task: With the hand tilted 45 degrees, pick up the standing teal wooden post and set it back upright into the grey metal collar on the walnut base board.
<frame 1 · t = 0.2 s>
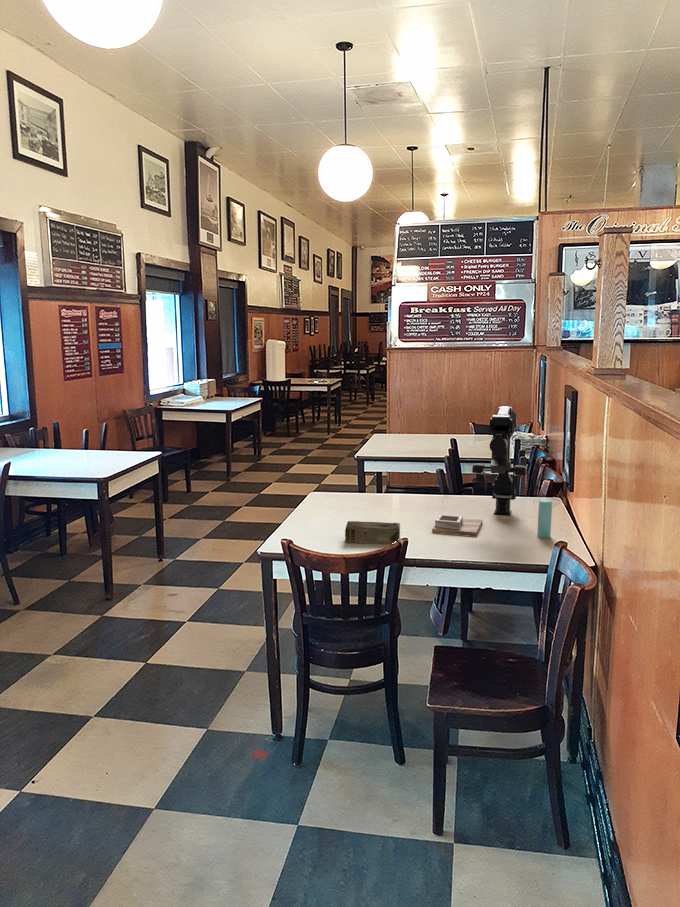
hand: (498, 492, 253), 15 cm above the table, tool pointing down, fingers open, 9 cm apart
post: (543, 536, 250), on the table
base board: (457, 528, 261), on the table
beverage carton: (372, 542, 246), on the table
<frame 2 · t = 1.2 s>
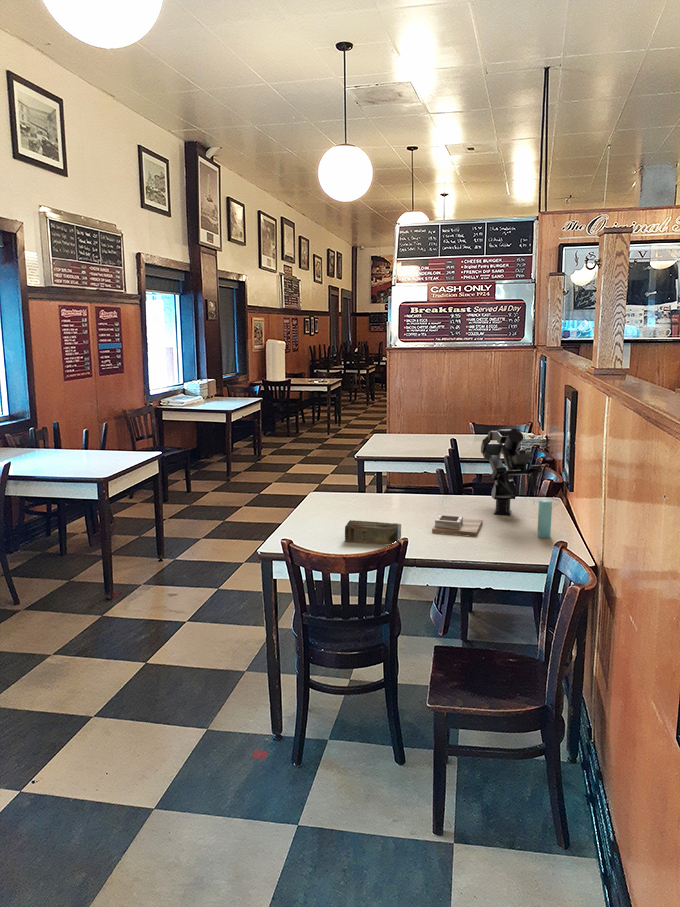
hand: (523, 491, 261), 13 cm above the table, tool tilted 45°, fingers open, 9 cm apart
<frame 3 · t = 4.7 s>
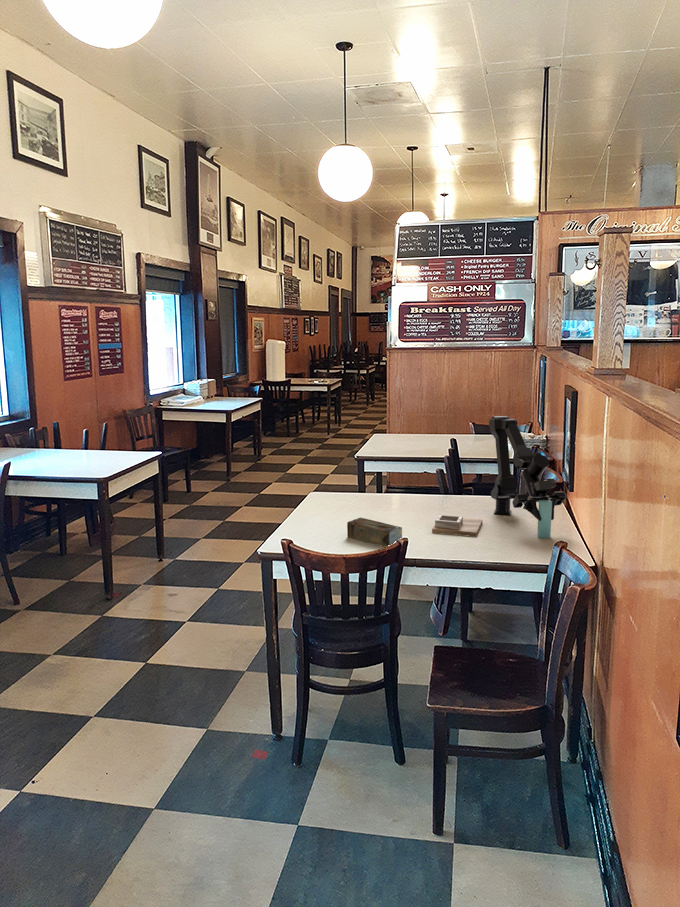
hand: (546, 519, 247), 7 cm above the table, tool tilted 45°, fingers closed on post, 4 cm apart
post: (543, 536, 250), on the table, touching gripper
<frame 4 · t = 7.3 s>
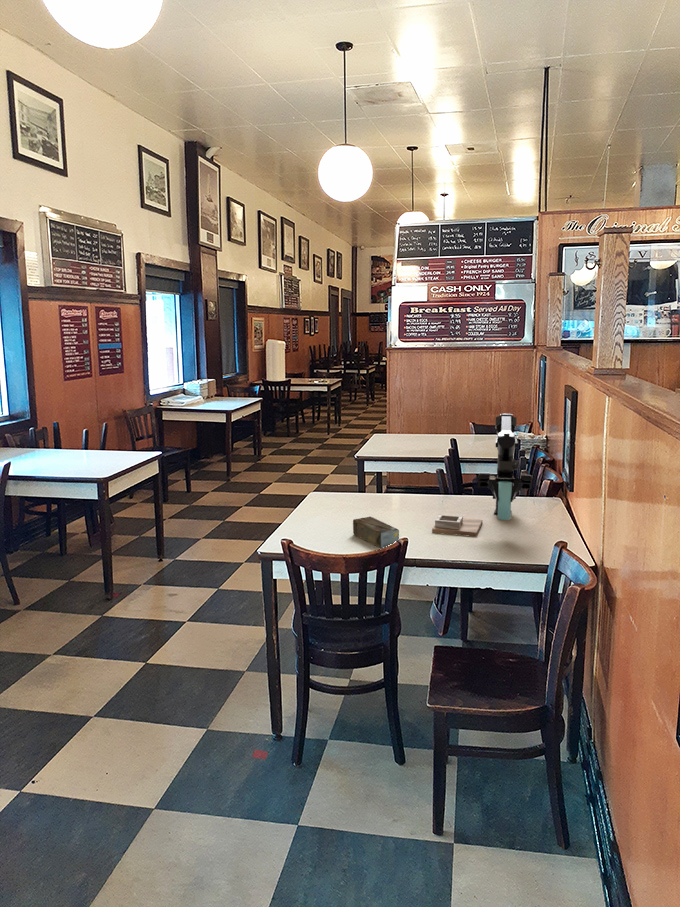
hand: (504, 501, 246), 13 cm above the table, tool tilted 45°, fingers closed on post, 4 cm apart
post: (504, 518, 249), point 7 cm above the table, touching gripper
when the fingers open (9 cm above the table, at t = 10.1 s): post drops 1 cm, resting on base board.
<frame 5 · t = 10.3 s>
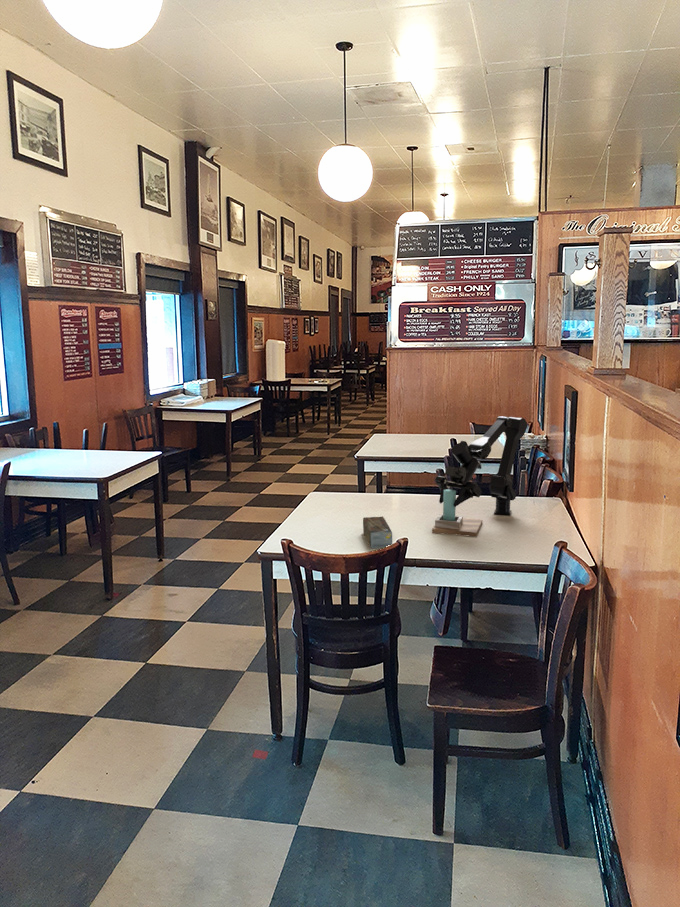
hand: (447, 504, 257), 10 cm above the table, tool tilted 45°, fingers open, 6 cm apart
post: (448, 524, 260), point 2 cm above the table, touching base board
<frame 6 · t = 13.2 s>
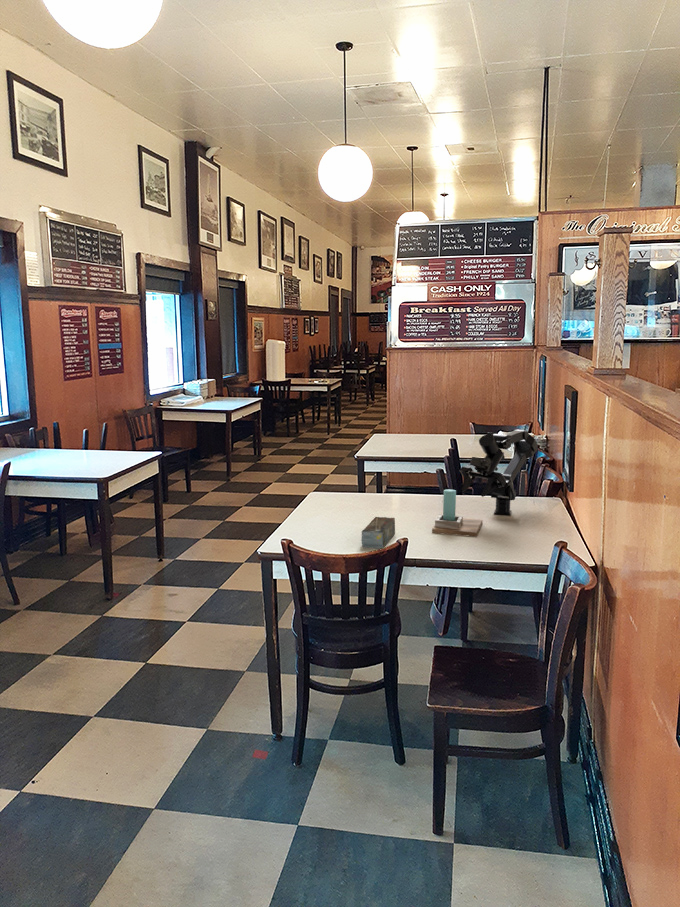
hand: (472, 494, 265), 12 cm above the table, tool tilted 45°, fingers open, 9 cm apart
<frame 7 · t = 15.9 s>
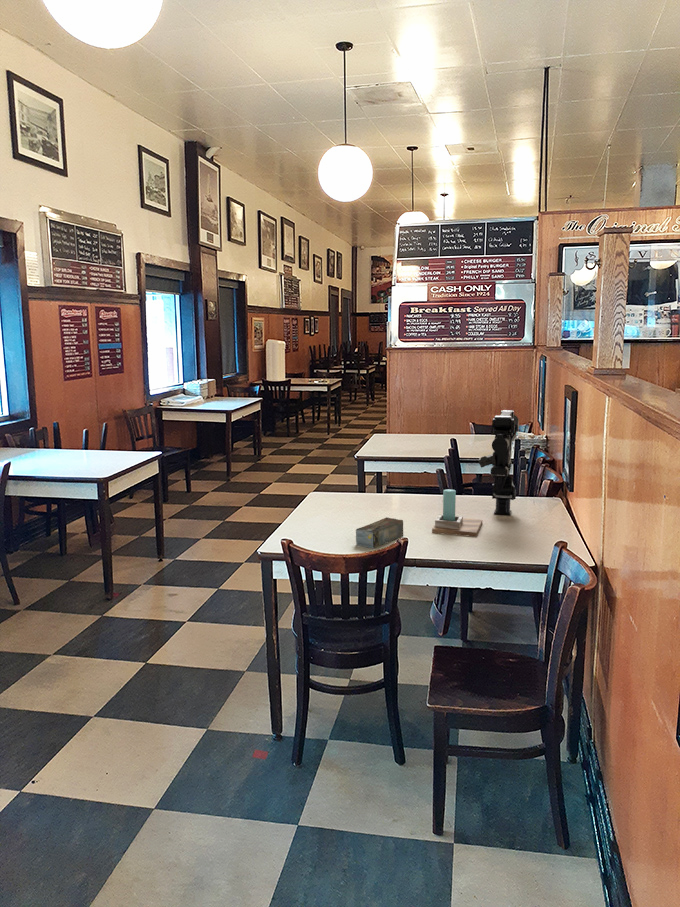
hand: (500, 489, 267), 13 cm above the table, tool pointing down, fingers open, 9 cm apart
at the end: post 0.0 cm from the target spot on the base board, point 1.5 cm above the base board's base; post tilted 0°; the gripper is holding nothing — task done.
